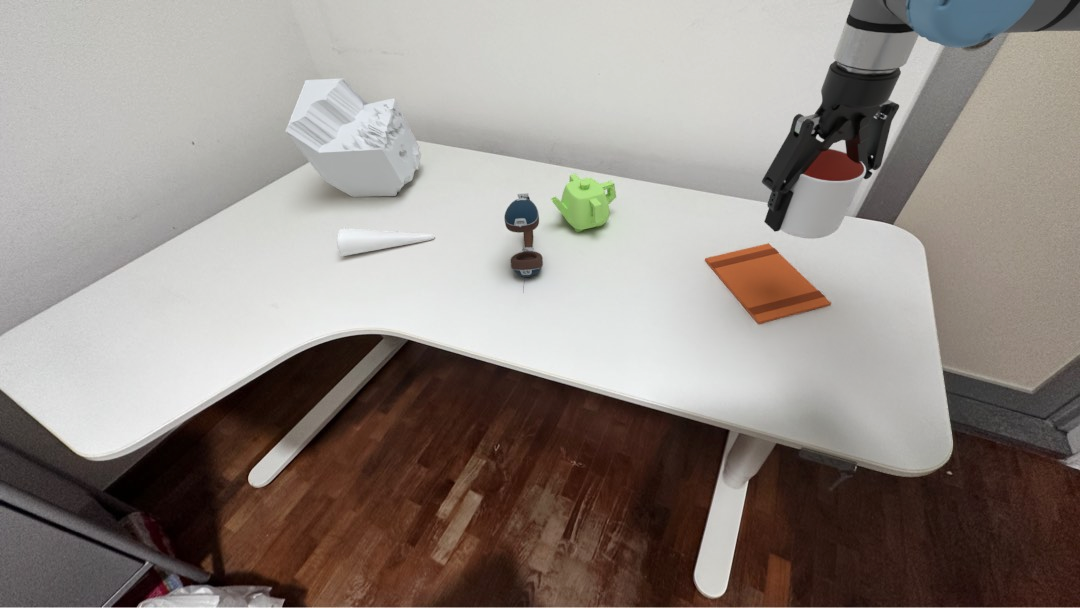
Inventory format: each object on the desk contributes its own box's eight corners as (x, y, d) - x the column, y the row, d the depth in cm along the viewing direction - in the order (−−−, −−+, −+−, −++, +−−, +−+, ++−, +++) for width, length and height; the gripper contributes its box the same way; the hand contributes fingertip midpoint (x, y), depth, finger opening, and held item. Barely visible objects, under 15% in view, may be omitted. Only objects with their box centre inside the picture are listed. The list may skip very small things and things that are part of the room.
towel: (830, 305, 80) (831, 302, 79) (758, 324, 78) (759, 321, 77) (767, 245, 92) (768, 242, 92) (704, 260, 90) (705, 257, 90)
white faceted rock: (427, 155, 124) (390, 75, 101) (417, 203, 117) (375, 128, 95) (356, 157, 126) (305, 79, 104) (342, 204, 120) (285, 131, 97)
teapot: (571, 202, 108) (570, 164, 101) (617, 211, 104) (619, 172, 97) (550, 230, 101) (548, 191, 94) (600, 241, 97) (601, 201, 90)
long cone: (433, 261, 98) (341, 261, 97) (436, 246, 103) (349, 245, 102) (430, 238, 95) (334, 238, 94) (434, 223, 100) (343, 222, 99)
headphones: (542, 305, 83) (544, 241, 100) (536, 233, 73) (539, 176, 90) (508, 307, 83) (516, 243, 100) (497, 235, 74) (508, 177, 91)
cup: (777, 198, 76) (797, 141, 69) (844, 216, 71) (872, 156, 64) (757, 229, 70) (777, 170, 63) (828, 250, 66) (858, 189, 59)
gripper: (920, 41, 59) (849, 192, 74) (763, 68, 56) (723, 220, 71) (973, 58, 54) (884, 217, 69) (803, 90, 50) (750, 248, 66)
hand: (802, 219), depth 70 cm, fingers closed on cup, 10 cm apart
